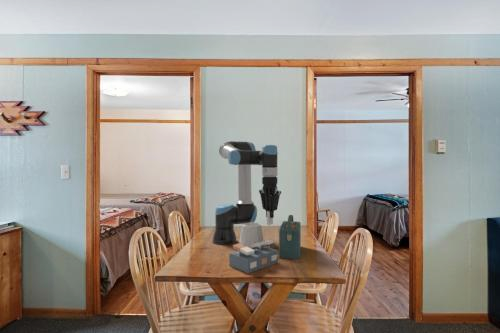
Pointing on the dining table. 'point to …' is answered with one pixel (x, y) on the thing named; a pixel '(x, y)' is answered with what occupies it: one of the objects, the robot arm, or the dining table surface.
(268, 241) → the rocker far
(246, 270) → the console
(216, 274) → the dining table surface
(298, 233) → the radio
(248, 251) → the rocker near
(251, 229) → the vase
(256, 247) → the rocker mid
